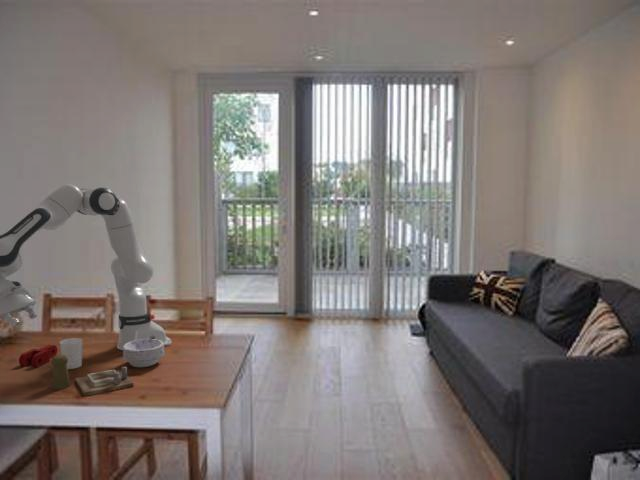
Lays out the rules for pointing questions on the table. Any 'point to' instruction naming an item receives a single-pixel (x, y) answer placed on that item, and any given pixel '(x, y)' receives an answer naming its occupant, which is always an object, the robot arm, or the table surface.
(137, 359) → the paper bowls
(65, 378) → the olive brown peg
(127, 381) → the peg board
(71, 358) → the white cup
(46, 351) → the mechanical linkage
